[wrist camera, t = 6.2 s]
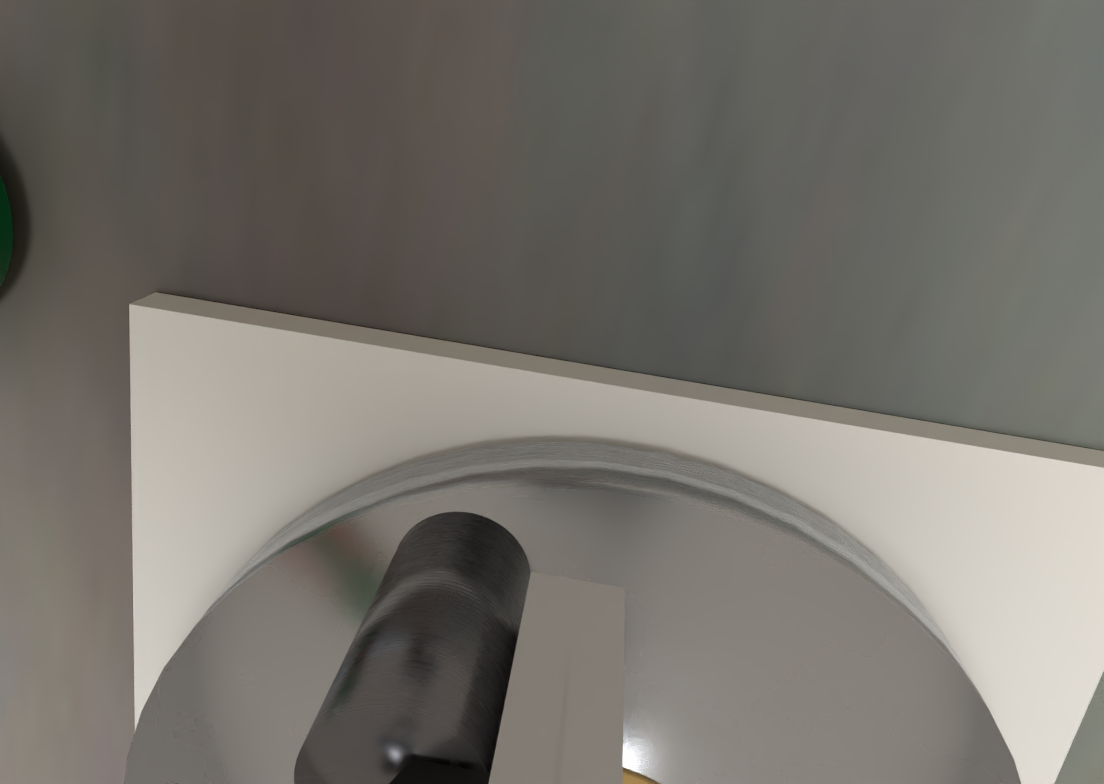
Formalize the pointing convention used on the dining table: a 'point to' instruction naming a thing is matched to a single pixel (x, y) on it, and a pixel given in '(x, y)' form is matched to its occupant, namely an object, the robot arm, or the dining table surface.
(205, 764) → the turntable
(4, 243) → the soda can
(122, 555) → the dining table surface
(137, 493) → the base plate
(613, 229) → the dining table surface
